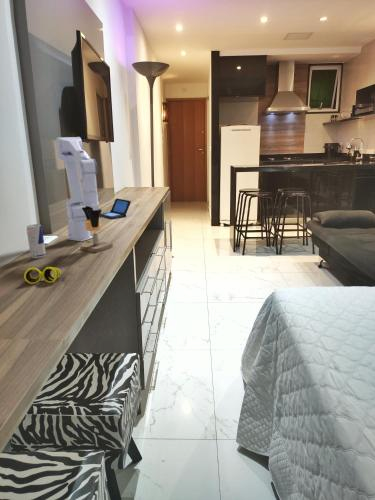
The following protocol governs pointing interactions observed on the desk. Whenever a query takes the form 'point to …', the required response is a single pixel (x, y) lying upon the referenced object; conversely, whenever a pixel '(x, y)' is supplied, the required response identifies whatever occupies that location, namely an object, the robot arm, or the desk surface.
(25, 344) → the desk surface
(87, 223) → the ring
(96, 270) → the desk surface
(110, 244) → the post stand
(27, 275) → the opera glasses
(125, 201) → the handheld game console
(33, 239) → the energy drink
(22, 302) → the desk surface
